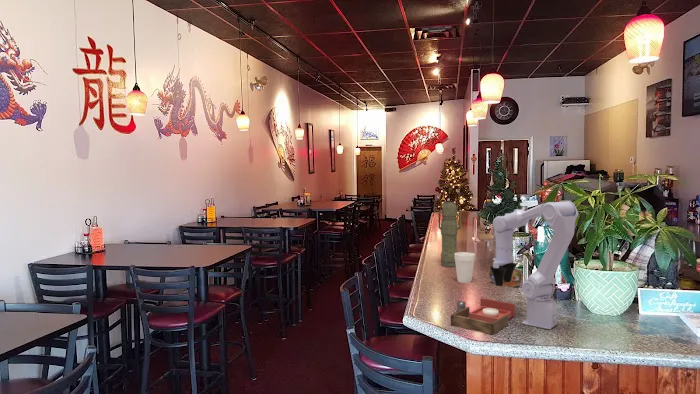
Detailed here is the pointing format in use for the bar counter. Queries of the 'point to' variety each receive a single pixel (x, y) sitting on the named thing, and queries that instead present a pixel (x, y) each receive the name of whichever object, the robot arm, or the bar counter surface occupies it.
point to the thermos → (449, 233)
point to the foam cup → (464, 266)
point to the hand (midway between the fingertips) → (503, 283)
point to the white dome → (490, 312)
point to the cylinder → (461, 305)
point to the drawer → (500, 306)
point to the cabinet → (477, 322)
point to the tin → (514, 281)
